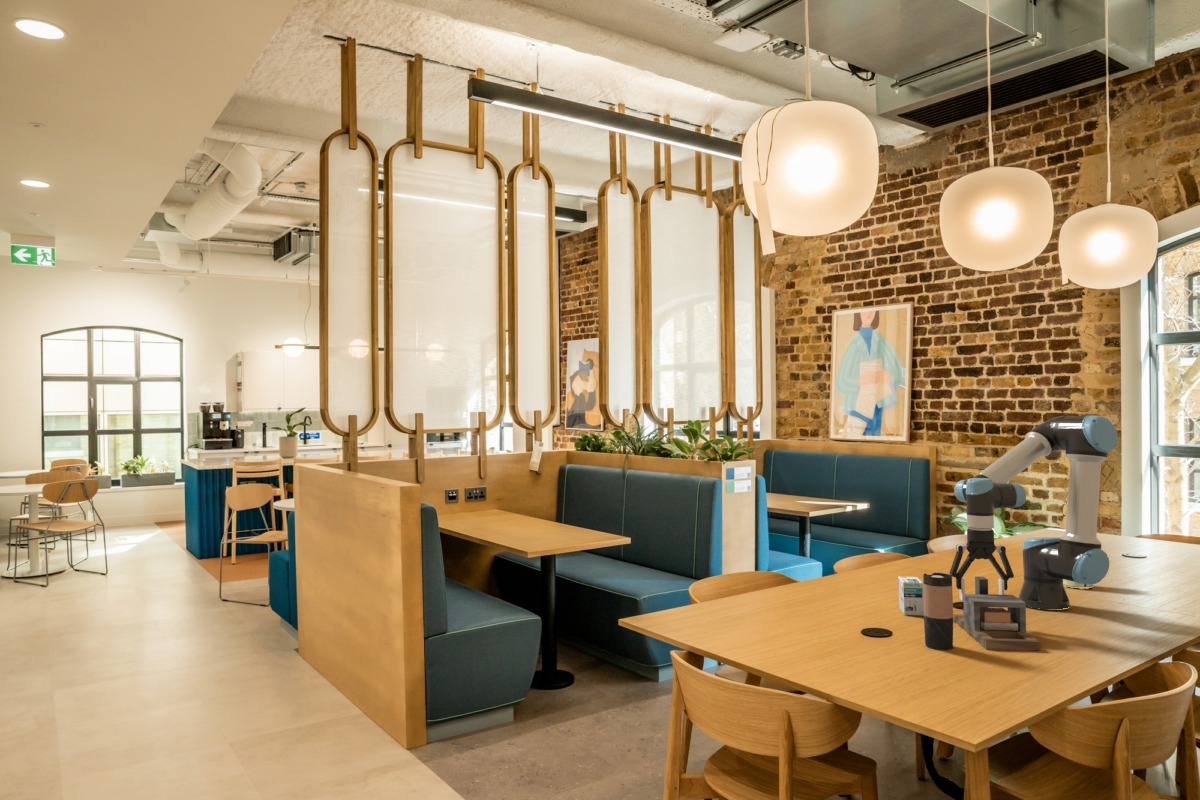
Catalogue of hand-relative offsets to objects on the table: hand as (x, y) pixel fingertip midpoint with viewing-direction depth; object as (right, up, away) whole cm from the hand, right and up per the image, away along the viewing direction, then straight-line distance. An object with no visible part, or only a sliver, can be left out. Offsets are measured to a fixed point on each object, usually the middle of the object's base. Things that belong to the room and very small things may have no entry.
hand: (981, 600), depth 242 cm
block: (-1, -5, -11) cm, 12 cm away
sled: (-1, -5, -7) cm, 8 cm away
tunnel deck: (-1, -8, -11) cm, 13 cm away
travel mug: (-22, -8, -21) cm, 31 cm away
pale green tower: (+61, -9, +53) cm, 82 cm away
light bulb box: (-14, -9, +19) cm, 25 cm away
